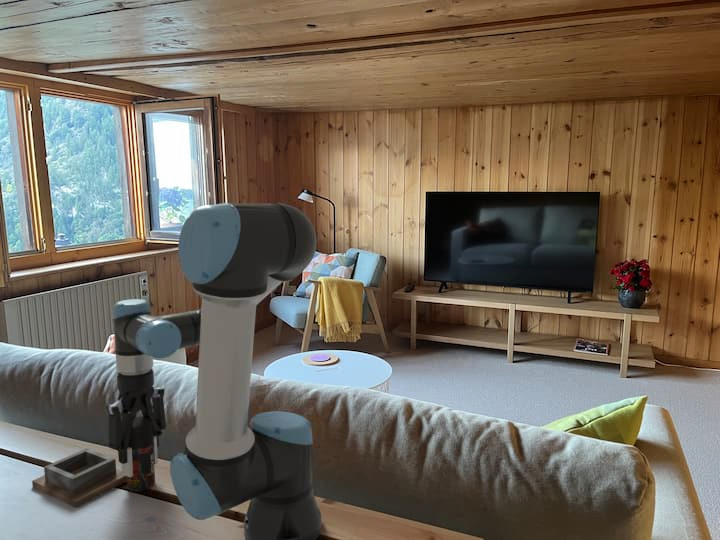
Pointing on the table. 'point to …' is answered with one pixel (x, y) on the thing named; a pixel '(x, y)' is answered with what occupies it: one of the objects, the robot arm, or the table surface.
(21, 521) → the table surface
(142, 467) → the deodorant
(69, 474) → the socket stand
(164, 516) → the table surface
